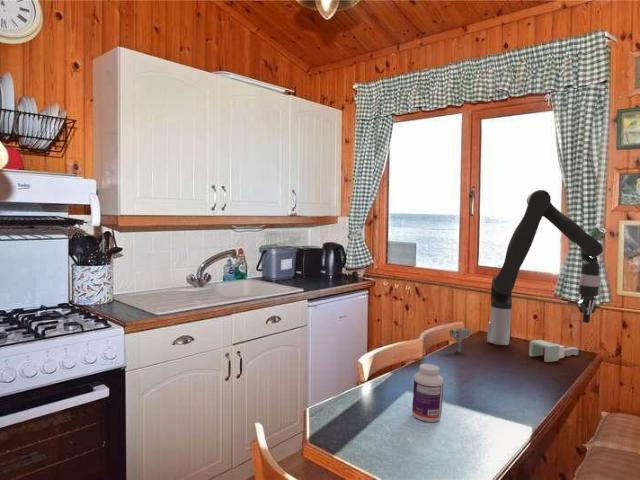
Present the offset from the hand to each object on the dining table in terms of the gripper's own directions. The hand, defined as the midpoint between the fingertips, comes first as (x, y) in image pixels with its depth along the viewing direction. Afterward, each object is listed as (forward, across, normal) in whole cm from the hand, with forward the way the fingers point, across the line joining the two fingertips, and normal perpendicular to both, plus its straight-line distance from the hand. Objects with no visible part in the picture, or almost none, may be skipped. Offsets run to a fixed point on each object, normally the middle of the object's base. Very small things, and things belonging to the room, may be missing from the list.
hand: (586, 322), depth 200 cm
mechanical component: (+14, +58, -18) cm, 63 cm away
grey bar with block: (+14, +15, 0) cm, 20 cm away
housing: (+14, +27, 0) cm, 31 cm away
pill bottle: (+14, +115, +30) cm, 120 cm away
